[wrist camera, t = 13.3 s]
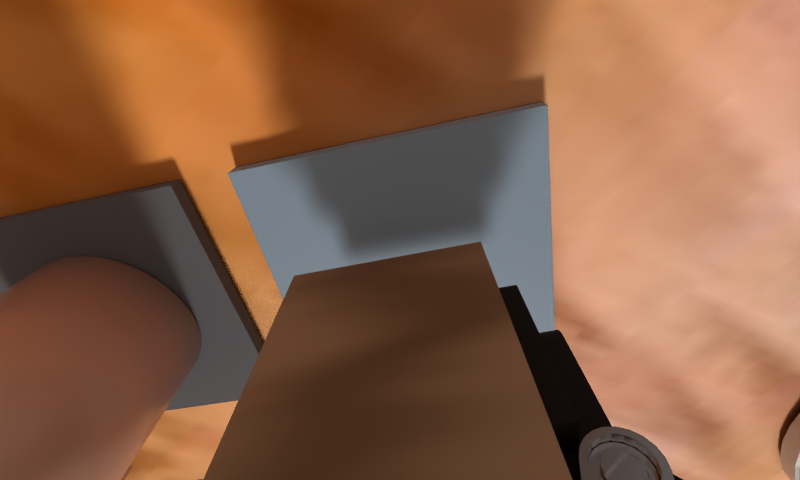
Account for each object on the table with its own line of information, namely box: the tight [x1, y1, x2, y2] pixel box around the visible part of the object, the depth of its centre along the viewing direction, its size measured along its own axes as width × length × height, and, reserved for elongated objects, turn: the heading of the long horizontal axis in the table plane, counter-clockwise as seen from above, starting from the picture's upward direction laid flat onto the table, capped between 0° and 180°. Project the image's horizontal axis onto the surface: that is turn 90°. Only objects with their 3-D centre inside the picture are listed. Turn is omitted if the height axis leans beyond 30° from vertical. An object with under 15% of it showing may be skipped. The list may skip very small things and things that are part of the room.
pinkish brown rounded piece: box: [0, 256, 201, 480], centre depth 11 cm, size 7×8×9 cm
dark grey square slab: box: [0, 180, 263, 411], centre depth 15 cm, size 10×10×1 cm
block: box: [203, 242, 572, 480], centre depth 8 cm, size 5×5×6 cm
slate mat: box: [228, 102, 555, 333], centre depth 14 cm, size 10×10×1 cm
